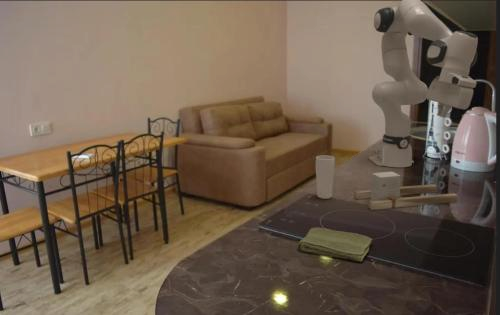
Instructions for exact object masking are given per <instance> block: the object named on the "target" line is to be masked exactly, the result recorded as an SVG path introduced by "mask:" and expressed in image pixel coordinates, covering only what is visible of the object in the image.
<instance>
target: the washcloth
mask: <svg viewBox="0 0 500 315" xmlns="http://www.w3.org/2000/svg"><path fill="white" fill-rule="evenodd" d="M372 243H373V238H371V237H369V236H367V235H363V234H359V233H356V232H348V231H347V232H346V231H342V230H341V231H338V230H334V229H330V228H325V227H318V226H317V227H312V228H309V230H308V232H307V233H306V235H305V236H304V237H303V238H302V239H300V240H299V242H298V244H297V248H298V250H299V251H301V252H305V253H310V254H313V255H321V256H323V257H324V256H325V257H332V258H336V259H343V260H350V261H353V262H360V263H362V262H363V260H364V258H365V256H366V255H367V253H369V250H370V246H371V244H372Z"/></svg>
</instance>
